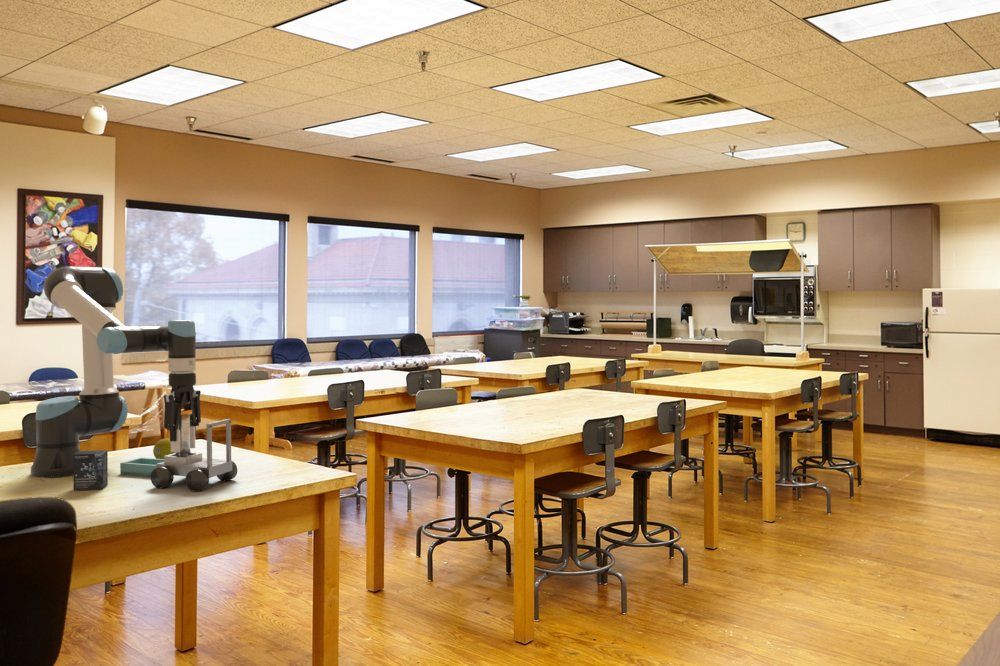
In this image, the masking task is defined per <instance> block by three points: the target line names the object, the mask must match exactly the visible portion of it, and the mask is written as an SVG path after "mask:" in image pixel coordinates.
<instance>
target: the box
mask: <svg viewBox="0 0 1000 666" xmlns="http://www.w3.org/2000/svg"><path fill="white" fill-rule="evenodd" d="M108 458H109V457H108V450H107V449H103V450H101V449H100V450H99V449H98V450H96V449H95V450H94V449H93V450H80V451H78V452H76V453H75V454H74V455H73V469H74V475H73V491H85V490H86V491H87V490H88V491H89V490H90V491H91V490H94V491H95V490H104V489H105V488H106V487H107V486H108V483H109V481H108V480H109V478H108V475H109V473H108V466H109V465H108Z"/></svg>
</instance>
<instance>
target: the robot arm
mask: <svg viewBox="0 0 1000 666" xmlns="http://www.w3.org/2000/svg"><path fill="white" fill-rule="evenodd" d="M123 284H124V283H123V281H122V278H121V277H120V275H119V274H118V273H117V271H115V270H114V269H112V268H109V267H101V266H74V265H73V266H72V265H71V266H70V265H66V266H60V267H57V268H55V269H53V270H52V271H51V272H50V273H49V274H48V275H47V276H46V278H45V279H44V283H43V292H44V295H45V297H46V299H47V300H48V301H49V302H50V303H51V304H52V305H53V306H54V307H55V308H58V309H60V310H65V311H66V312H67V313H68V314H69V315H71V316H72V317H73V318H74V319H75V320H76V321H77V322H79V323H80V324H81V333H82V334H81V336H82V337H81V338H82V339H81V340H82V361H83V362H82V364H83V366H82V367H83V389H82V390H81V391H80V392H79V394H78V396H76V395H66V396H65V395H64V396H58V397H53V398H48V399H45V400H42V401H40V402H39V403H38V404H37V405H36V408H35V410H36V411H35V429H36V431H35V432H36V451H35V454H34V459H33V463H32V465H31V466H30V476H31V477H35V478H43V479H44V478H46V479H48V478H62V477H69V476H74V469H73V455H74V454H75V453H76V452H78V451H81V448H80V437H84V436H93V435H99V434H100V435H101V434H108V433H111V432H117V431H118V430H119V429H121V428H122V427H123V426H124V424H126V421H127V418H128V413H129V412H128V411H129V410H128V404H127V403H126V399H125V398H124V397H123V396H121V395H120V390H118V389H117V388H116V387H115V386H114V362H113V360H114V359H113V355H119V354H129V353H130V354H131V353H146V352H167V354H168V356H167V357H168V358H167V360H168V362H167V364H168V367H167V370H168V372H170V373H169V374H168V386H171V390H170V393H168V394H164V395H163V400H164V401H163V402H164V411H163V412H164V413H163V415H164V417H163V418H164V419H163V428H164V429H165V430H167V431H169V439H170V441H171V452H178V453H179V452H180V430H178V425H179V420H180V415H181V410H182V409H192V414H191V415H190V449H196V436H197V434H196V433H197V432H196V431H197V428H196V427H199V425H200V424H201V422H202V417H201V415H202V414H201V392H202V391H201V390H198V389H197V390H196V389H195V388H194V386H195V385H196V384H197V373H196V372H195V371H196V370H197V369H196V367H197V366H196V352H197V351H196V348H197V347H196V346H197V340H196V339H197V338H196V337H197V332H196V324H195V322H194V320H192V319H171V320H169V321H168V323H167V326H166V325H165V326H164V325H157V324H156V325H150V326H149V325H148V326H127V325H125V324H124V323H123V322H122V321H120V320H119V319H118V318H117V317H115V316H114V314H113V312H114V311H115V310H116V305H117V303H120V302H121V300H122V298H123V296H124V295H123V294H124V285H123ZM112 314H113V315H112ZM78 397H79V398H78Z"/></svg>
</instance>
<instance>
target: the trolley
mask: <svg viewBox="0 0 1000 666" xmlns="http://www.w3.org/2000/svg"><path fill="white" fill-rule="evenodd" d="M222 425H225V444H226V445H225V446H226V447H225V450H226V451H225V452H226V453H225V454H226V455H225V456H226V459H219V458H218V459H216V458H215V459H214V458H213V428H214V427H218V426H222ZM190 454H191V455H190V456H186V457H180V456H176V453H174V454H170V455H166V456H164V462H161V463H157V464H156V468H155V469H154V470H153V471H152V473H151V477H150V483H151V484H152V485H153V487H154V488H157V489H158V490H159V489H163V488H167V487H169V486H171V485H172V484H173V482H174V479H175V476H179V477H185V485H186V487H187V488H188V490H189V491H191V492H194V493H195V492H196V493H197V492H199V491H203V490H205V489H206V488H208V485H209V483H210V479H211V478H214V477H216V478H217V479H218V480H220V481H221V482H229V481H231V480H233V479H235V478H236V477H237V476H238V467H237V464H236V463H235V462H234V461H233V460H232V419H231V418H226V419H225V418H224V419H221V420H216V421H212V422H209V423H206V457H205V458H204V457H203V453H202V452H192V451H190Z"/></svg>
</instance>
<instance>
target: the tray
mask: <svg viewBox="0 0 1000 666" xmlns="http://www.w3.org/2000/svg"><path fill="white" fill-rule="evenodd" d="M161 462H164V459H156V458H152V457H138V458H133V459H130V460H125V461H122V462H120V463H119V464H120V465H119V467H120V469H119V471H120V473H119V474H120V475H128V476H137V477H138V476H139V477H151V473H152V471H153V470H154V469H155V468H156V464H157V463H161Z"/></svg>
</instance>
